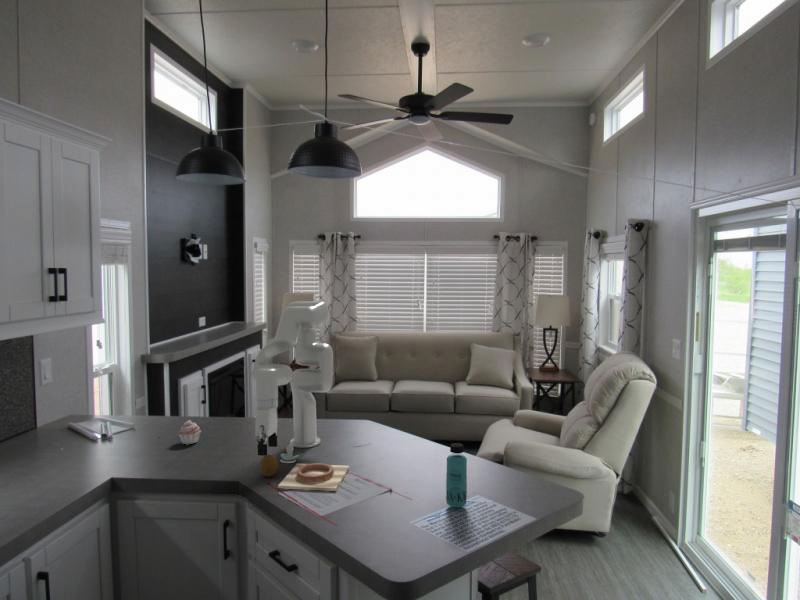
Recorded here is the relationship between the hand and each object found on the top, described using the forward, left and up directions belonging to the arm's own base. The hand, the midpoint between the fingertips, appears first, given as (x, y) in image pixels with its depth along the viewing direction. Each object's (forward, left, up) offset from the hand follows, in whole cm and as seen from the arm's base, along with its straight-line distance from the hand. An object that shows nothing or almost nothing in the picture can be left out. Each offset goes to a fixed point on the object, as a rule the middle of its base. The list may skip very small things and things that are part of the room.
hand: (267, 450), depth 191 cm
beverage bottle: (+16, +67, -10) cm, 70 cm away
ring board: (-1, +17, -10) cm, 20 cm away
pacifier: (-16, +2, -10) cm, 19 cm away
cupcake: (-32, -47, -10) cm, 57 cm away
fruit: (-1, 0, -10) cm, 10 cm away
